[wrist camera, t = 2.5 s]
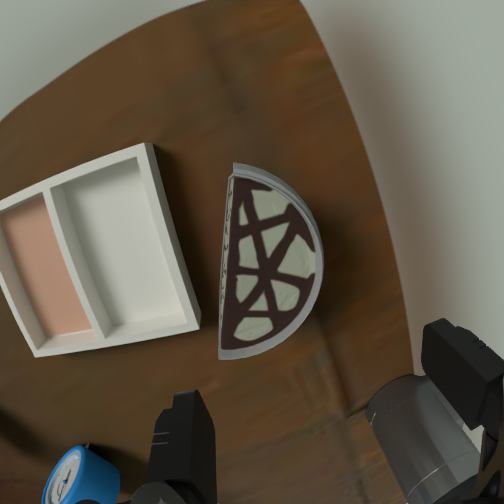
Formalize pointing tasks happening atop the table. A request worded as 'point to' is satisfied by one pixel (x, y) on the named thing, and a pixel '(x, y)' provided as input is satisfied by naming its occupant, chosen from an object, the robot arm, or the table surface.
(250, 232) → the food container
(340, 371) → the table surface
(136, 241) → the tray
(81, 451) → the alarm clock
